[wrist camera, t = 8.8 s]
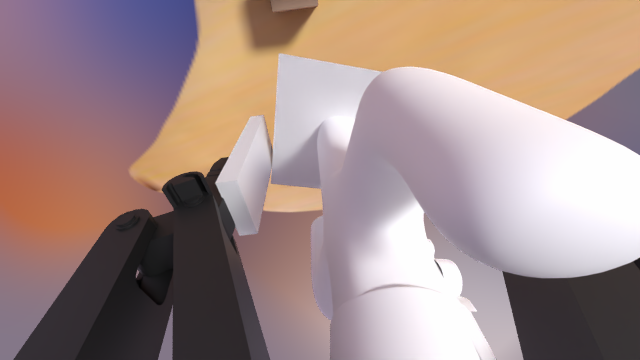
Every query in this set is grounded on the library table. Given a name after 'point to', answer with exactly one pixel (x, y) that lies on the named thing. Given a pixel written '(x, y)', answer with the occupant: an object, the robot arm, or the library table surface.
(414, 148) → the figurine
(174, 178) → the robot arm
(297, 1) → the walnut block
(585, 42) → the library table surface
